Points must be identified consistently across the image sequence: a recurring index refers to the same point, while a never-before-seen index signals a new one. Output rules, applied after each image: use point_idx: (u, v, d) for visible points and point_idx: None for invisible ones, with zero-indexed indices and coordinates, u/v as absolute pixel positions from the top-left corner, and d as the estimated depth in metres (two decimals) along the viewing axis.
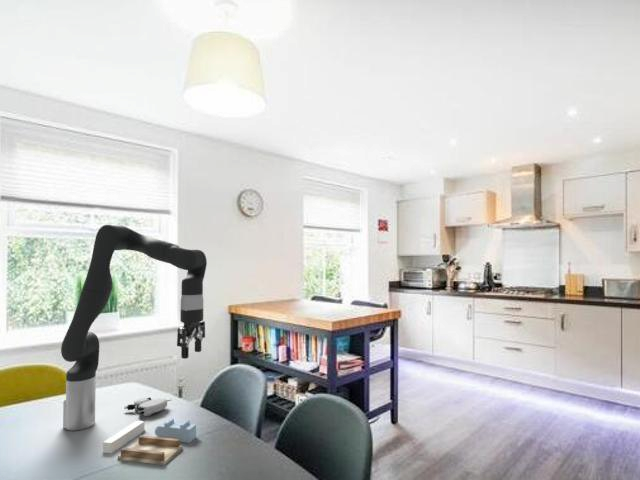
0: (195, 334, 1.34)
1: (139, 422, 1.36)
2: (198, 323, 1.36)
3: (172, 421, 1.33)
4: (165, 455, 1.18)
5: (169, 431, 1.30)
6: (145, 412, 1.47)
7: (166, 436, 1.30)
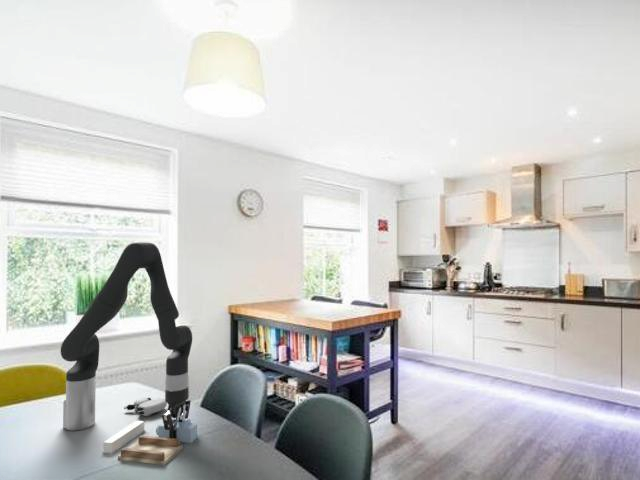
0: (179, 412, 1.31)
1: (139, 422, 1.36)
2: None
3: None
4: (165, 455, 1.18)
5: None
6: (144, 412, 1.47)
7: (167, 435, 1.30)
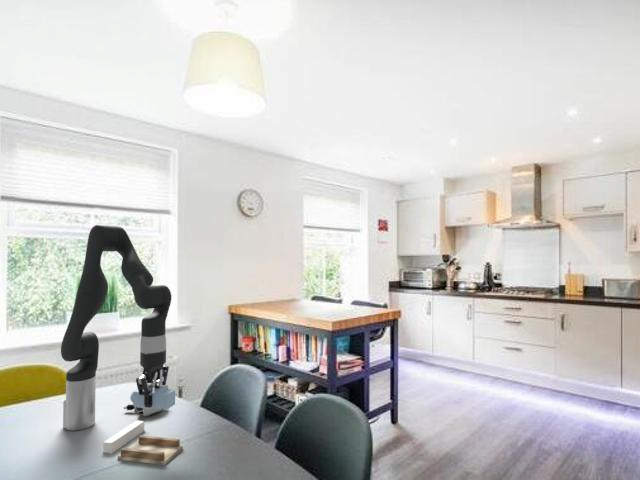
0: (155, 377, 1.22)
1: (139, 422, 1.36)
2: (161, 365, 1.25)
3: None
4: (165, 455, 1.18)
5: None
6: (144, 412, 1.47)
7: (142, 402, 1.21)
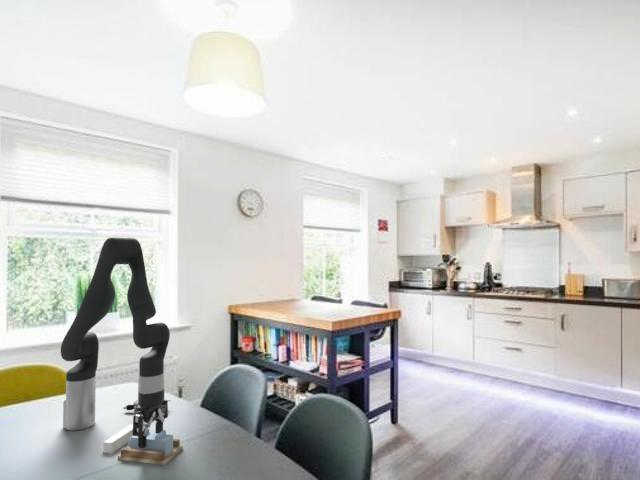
0: (155, 417, 1.22)
1: None
2: None
3: (147, 432, 1.23)
4: None
5: None
6: None
7: (140, 448, 1.20)
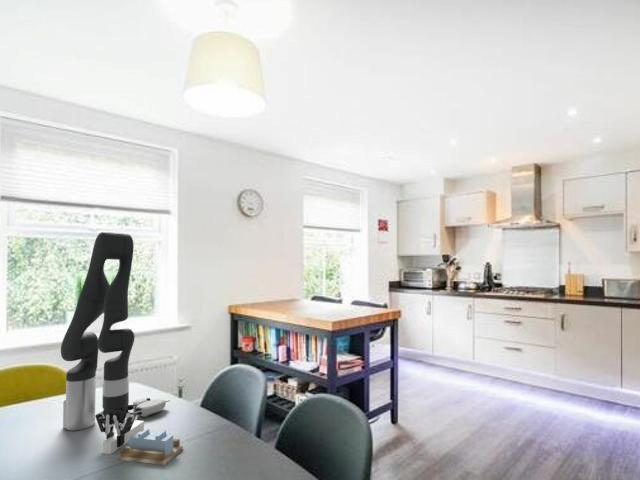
0: (112, 420, 1.25)
1: (138, 422, 1.36)
2: (121, 411, 1.24)
3: (147, 432, 1.23)
4: None
5: (144, 443, 1.19)
6: (142, 413, 1.46)
7: (140, 448, 1.20)
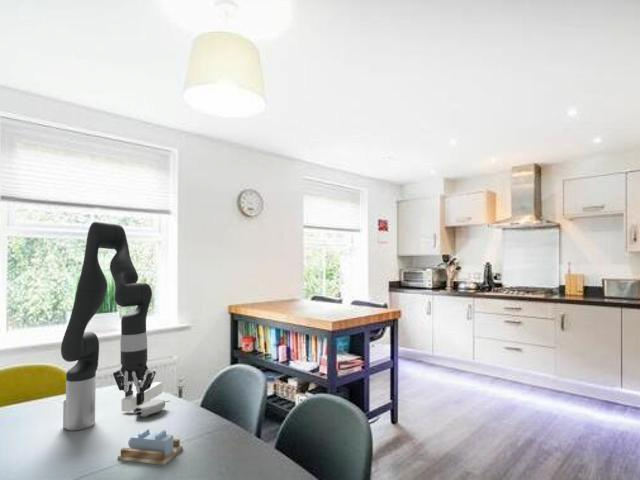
0: (131, 377, 1.19)
1: (157, 383, 1.31)
2: (140, 367, 1.19)
3: (147, 432, 1.23)
4: None
5: (144, 443, 1.19)
6: (142, 413, 1.46)
7: (140, 448, 1.20)
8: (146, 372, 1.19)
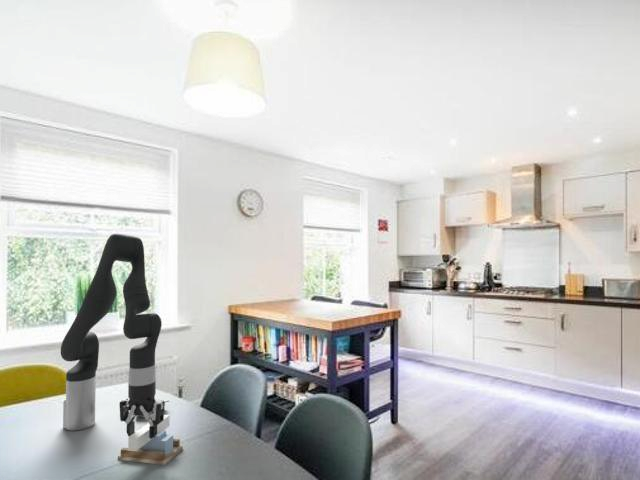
0: (140, 412, 1.16)
1: (164, 416, 1.27)
2: (147, 402, 1.16)
3: None
4: None
5: None
6: None
7: (140, 448, 1.20)
8: (155, 405, 1.16)
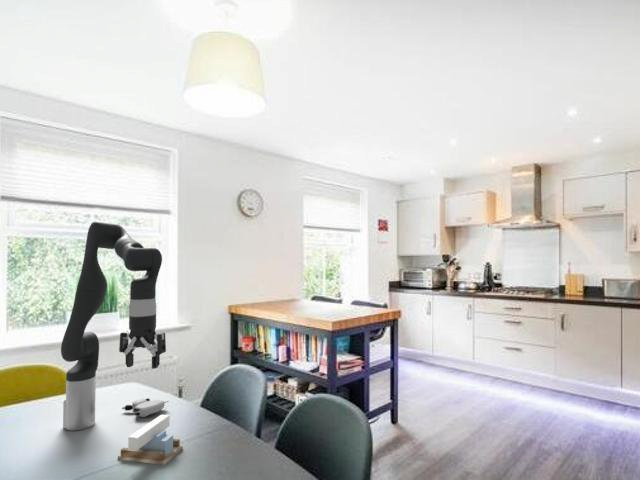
0: (141, 345, 1.17)
1: (164, 416, 1.27)
2: (147, 334, 1.16)
3: None
4: None
5: None
6: (140, 413, 1.46)
7: (140, 448, 1.20)
8: (155, 336, 1.16)
